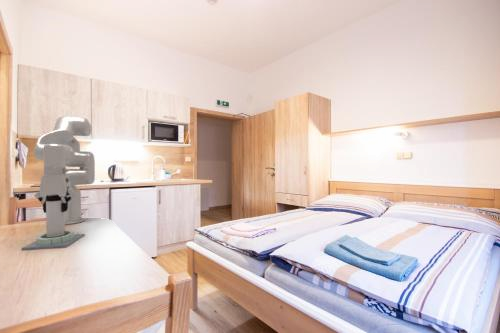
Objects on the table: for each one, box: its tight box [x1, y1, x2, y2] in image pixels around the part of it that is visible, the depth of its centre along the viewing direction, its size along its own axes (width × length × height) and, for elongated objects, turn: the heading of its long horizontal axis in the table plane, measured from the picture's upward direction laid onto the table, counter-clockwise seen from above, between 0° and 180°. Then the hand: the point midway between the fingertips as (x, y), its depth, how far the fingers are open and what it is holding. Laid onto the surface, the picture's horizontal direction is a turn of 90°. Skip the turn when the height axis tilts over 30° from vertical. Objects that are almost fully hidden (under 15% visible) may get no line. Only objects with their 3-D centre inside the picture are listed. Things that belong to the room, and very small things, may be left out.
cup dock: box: [21, 229, 86, 251], centre depth 106 cm, size 16×16×4 cm
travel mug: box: [45, 195, 66, 238], centre depth 105 cm, size 6×7×20 cm
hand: (55, 211), depth 105 cm, fingers closed on travel mug, 6 cm apart
